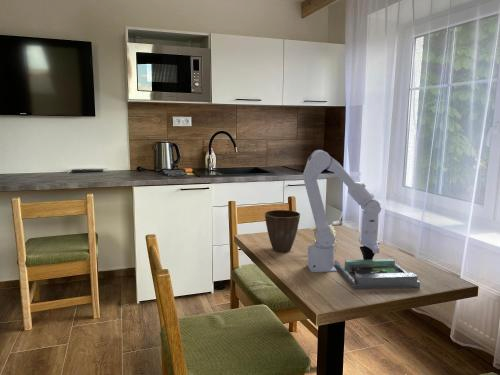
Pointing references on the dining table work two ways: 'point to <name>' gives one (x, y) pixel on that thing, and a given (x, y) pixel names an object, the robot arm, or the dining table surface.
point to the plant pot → (282, 228)
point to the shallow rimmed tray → (381, 279)
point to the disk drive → (374, 270)
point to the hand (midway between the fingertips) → (367, 265)
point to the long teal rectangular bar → (368, 263)
